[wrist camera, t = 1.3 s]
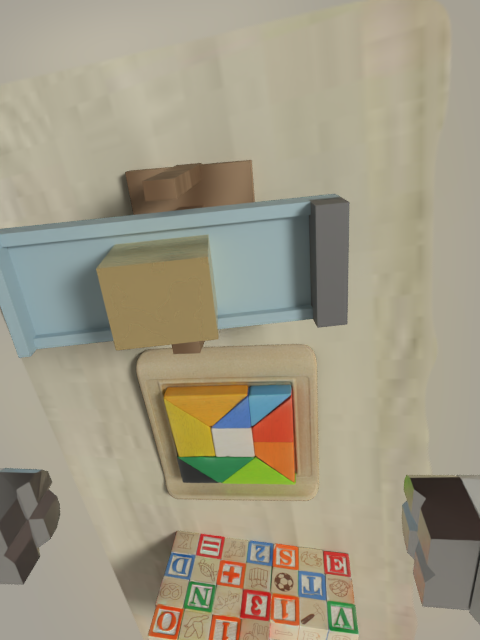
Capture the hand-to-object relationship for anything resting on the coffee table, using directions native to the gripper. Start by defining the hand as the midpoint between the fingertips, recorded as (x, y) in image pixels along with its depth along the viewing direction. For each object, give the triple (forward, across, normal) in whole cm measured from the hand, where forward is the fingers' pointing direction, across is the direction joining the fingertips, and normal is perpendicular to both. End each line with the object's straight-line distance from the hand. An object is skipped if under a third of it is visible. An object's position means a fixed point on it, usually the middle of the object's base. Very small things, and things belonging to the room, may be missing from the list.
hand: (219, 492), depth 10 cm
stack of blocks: (+30, +4, +42) cm, 51 cm away
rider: (+19, +7, +1) cm, 20 cm away
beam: (+21, +6, +1) cm, 22 cm away
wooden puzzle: (+30, +5, +21) cm, 37 cm away
